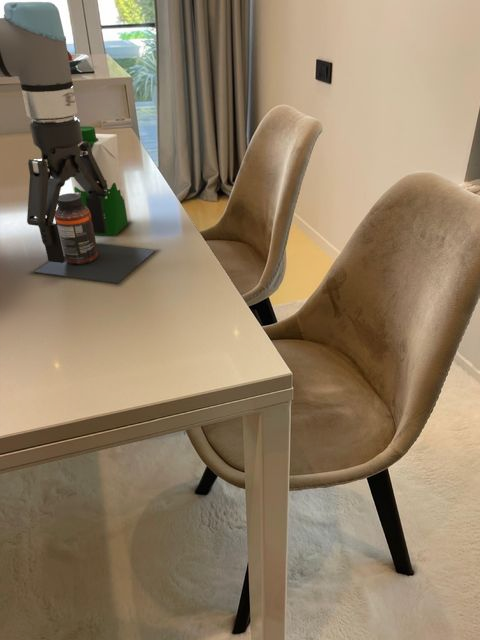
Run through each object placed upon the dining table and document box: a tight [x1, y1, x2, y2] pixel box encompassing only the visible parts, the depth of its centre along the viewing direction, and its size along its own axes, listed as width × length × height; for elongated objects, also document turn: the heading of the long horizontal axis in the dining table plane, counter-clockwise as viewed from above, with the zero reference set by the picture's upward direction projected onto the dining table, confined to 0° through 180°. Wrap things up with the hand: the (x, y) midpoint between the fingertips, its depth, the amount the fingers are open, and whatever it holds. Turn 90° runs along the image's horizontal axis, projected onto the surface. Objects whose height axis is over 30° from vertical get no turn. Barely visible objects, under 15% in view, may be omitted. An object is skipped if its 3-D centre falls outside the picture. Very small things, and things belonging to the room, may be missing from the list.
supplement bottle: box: [54, 192, 98, 264], centre depth 97 cm, size 6×6×11 cm
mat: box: [34, 243, 156, 285], centre depth 99 cm, size 16×14×1 cm
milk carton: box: [70, 125, 129, 237], centre depth 108 cm, size 9×9×20 cm
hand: (79, 246), depth 99 cm, fingers open, 13 cm apart
